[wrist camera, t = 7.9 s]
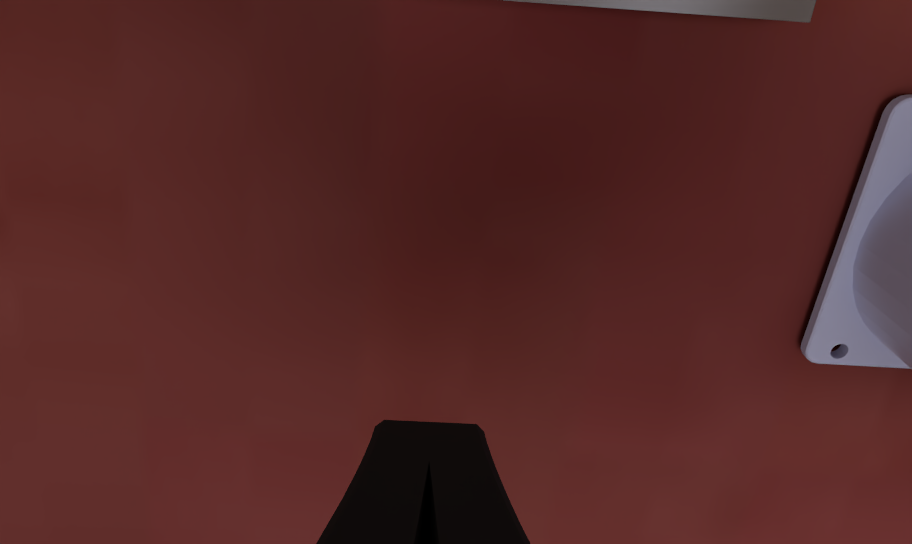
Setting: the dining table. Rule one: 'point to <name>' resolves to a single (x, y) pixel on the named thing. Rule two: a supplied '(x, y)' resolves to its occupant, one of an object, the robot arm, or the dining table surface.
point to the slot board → (707, 7)
